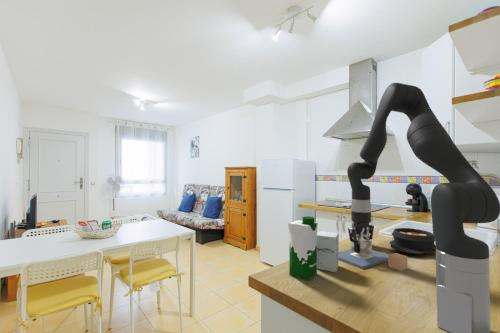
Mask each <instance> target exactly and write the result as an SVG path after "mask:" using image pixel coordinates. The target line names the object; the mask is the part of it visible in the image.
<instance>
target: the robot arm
mask: <svg viewBox="0 0 500 333" xmlns="http://www.w3.org/2000/svg"><path fill="white" fill-rule="evenodd" d="M391 112H396V113H401V114H405V115H406V116H407V118H408V119H409V121H410V124H409V126H408V129H407V131H406V140H407V143H408V144H409V147H410V149H411V151H412V153H413V155H415V157H416V158H417V159H418V160H420V161H421V162H422V163H423V164H425V165H427V166H428V167H429V168H431V169H432V170H434V171H436V172H437V173H439V174H440V175H442V176H443V177H444V178H445V179H446V180H447V181H448V182H442V183H438V184H436V185H435V186H434V187H433V189H432V192H431V194H430V195H431V197H430V210H431V220H432V221H431V222H432V234H433V235H434V238H435V242H434V243H435V245H436V252H435V275H436V276H435V280H436V281H435V282H436V284H435V286H436V289H435V290H436V321H437V322H436V323H437V324H436V326H437V327H438V328H440V329H442V330H444V331H446V332H448V333H492V327H491V326H492V325H491V321H492V320H491V318H492V317H491V290H490V289H491V287H490V285H491V284H490V282H491V280H490V249H489V248H490V247H489V245H488V244H487V243H486V242H485V241H482V240H480V239H478V238H474V237H472V236H470V235H468V234H467V233H466V232H465V227H464V224H488V223H493V222H495V221H496V220H497V219H498V218H499V217H500V200H499V198H498V196H497V194H496V192H495V191H494V189H493V188H492V187H491V185H490V184H489V183H488V182H487V181H486V179H484V177H483V176H482V175H481V174H480V173H479V172H478V171H477V170H476V169H475V167H473V166H472V164H471V163H470V162H469V161H468V160H467V158H466V157H465V156H464V154H463V153H462V151H460V149H459V148H458V147H457V145H456V144H455V143H454V141H453V140H452V138H451V136H450V135H449V132H447V130H446V129H445V127H444V125H443V124H442V123H441V122H440V121H439V119H438V117H437V116H436V114H435V113H434V111H433V110H432V108H431V107H430V105H429V102H428V100H427V98H426V96H425V94H424V92H423V91H422V89H421V88H420V87H418V86H415V85H412V84H408V83H407V84H405V83H403V82H401V83H400V82H392V83H390V84H389V85H388V86H387V87H386V88H385V90H384V92H383V94H382V96H381V98H380V101H379V103H378V108H377V110H376V112H375V115H374V120H373V123H372V125H371V129H370V131H369V133H368V136H367V138H366V139H365V142H364V144H363V146H362V148H361V149H360V153H359V157H360V159H362V160H363V162H359V161H358V162H354V161H353V162H351V163H350V164H348V167H347V172H346V175H347V178H348V180H349V184H350V188H351V204H350V208H351V214H350V216H351V218H350V219H351V220H352V221H353V222H354V224H353V227H352V226H351V227H348V228H347V231H348V237H349V241H350V243H351V242H354V251H355V252H357V253H360V240H361V239H362V238H363V239H365V240H369V241H372V240H373V236H374V230H375V229H374V228H375V226H374V225H372V224H371V223H372V202H371V187H370V186H369V185H367V184H364V183H363V181H362V180H369V179H371V178H372V177H373V176H374V175H375V173H376V169H377V166H378V161H379V158H380V157H381V155H382V153H383V151H384V149H385V148H386V145H387V141H388V135H387V133H388V132H387V120H388V117H389V116H390V114H391ZM356 234H357V235H359V236H357V235H356ZM357 237H358V240H357Z"/></svg>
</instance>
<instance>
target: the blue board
mask: <svg viewBox="0 0 500 333" xmlns="http://www.w3.org/2000/svg"><path fill="white" fill-rule="evenodd" d="M388 255H389V254H386V253H383V252H382V253H381V252H379V251H375V250H373V249H372V254H368V255H361V254H358V253H355V252H352V251H351V249H347V250H346V249H345V250H342V251H339V253H338V261H341V262H344V263H345V264H349V265H351V266H354V267H356V268H359V269H362V270H364V269H367V268H368V269H369V268H370V267H374V266H376V265H381V264H384V263H386V262H387V263H388Z"/></svg>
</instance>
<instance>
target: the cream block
mask: <svg viewBox="0 0 500 333" xmlns="http://www.w3.org/2000/svg"><path fill="white" fill-rule="evenodd" d="M357 240H358V238H357ZM372 243H373V241H372V240H370V241H369V240H365V239H361V240H360V253H358V254H361V255H368V254H372V250H373V244H372ZM350 248H351V251H352V252H355V251H354V242H351V241H350ZM355 253H357V252H355Z"/></svg>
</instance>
